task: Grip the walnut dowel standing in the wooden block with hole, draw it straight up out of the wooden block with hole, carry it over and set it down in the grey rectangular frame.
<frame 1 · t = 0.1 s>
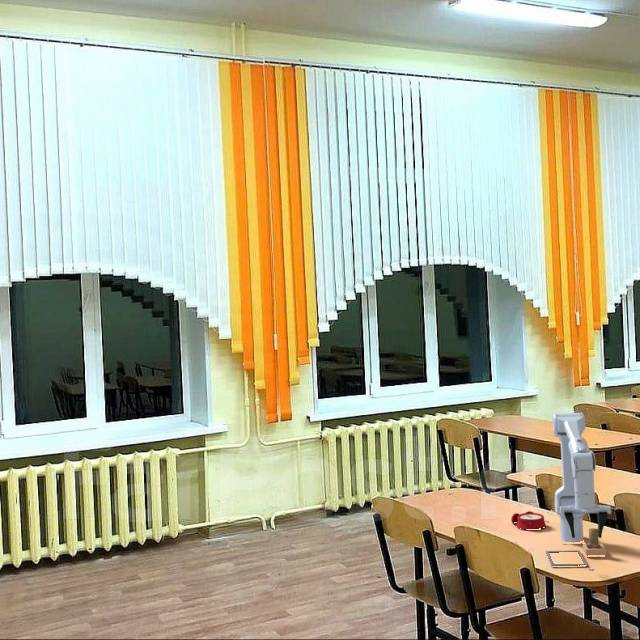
hand: (586, 536, 256), 10 cm above the table, tool pointing down, fingers open, 7 cm apart
grey rectangular frame: (566, 561, 265), on the table
wooden block with hole: (594, 555, 269), on the table
alarm clock: (528, 526, 305), on the table
dowel: (594, 554, 269), resting on wooden block with hole
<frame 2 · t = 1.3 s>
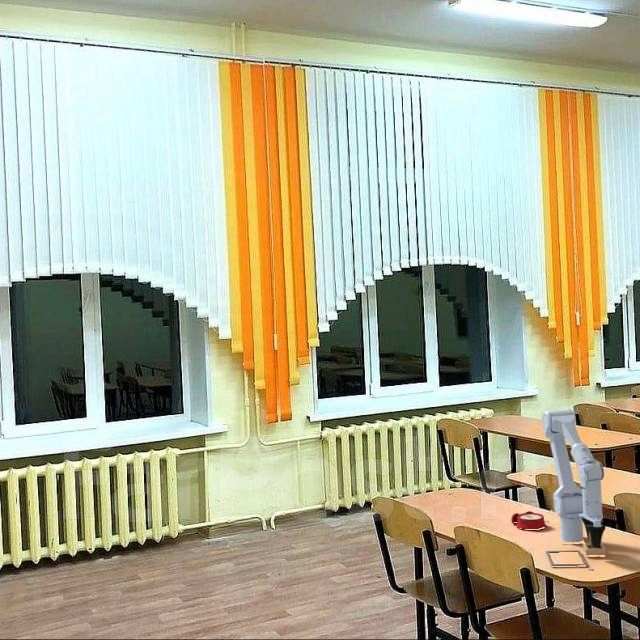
hand: (594, 543, 269), 4 cm above the table, tool pointing down, fingers open, 7 cm apart
nothing on the table moved.
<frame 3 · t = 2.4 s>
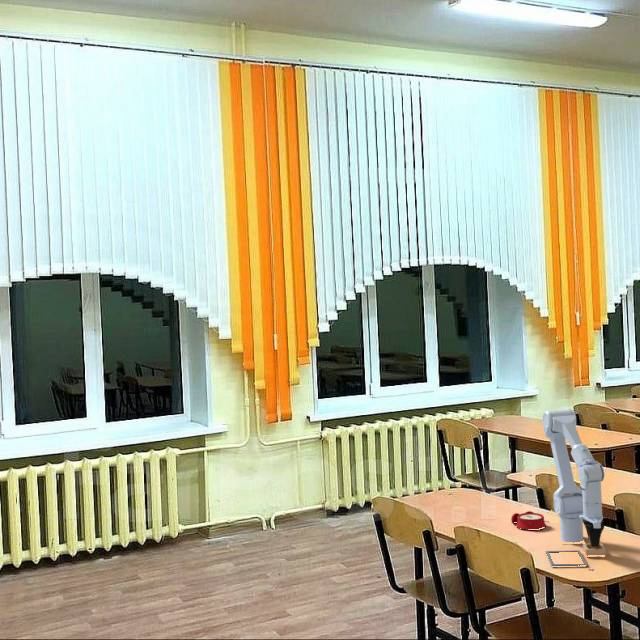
hand: (594, 544, 269), 4 cm above the table, tool pointing down, fingers closed on dowel, 3 cm apart
dowel: (594, 554, 269), resting on wooden block with hole, touching gripper
everything else where it was.
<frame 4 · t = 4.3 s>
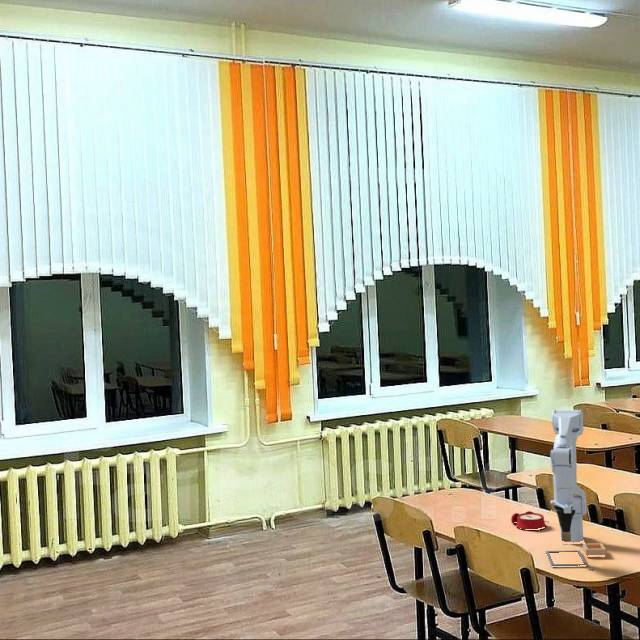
hand: (565, 530, 264), 10 cm above the table, tool pointing down, fingers closed on dowel, 3 cm apart
dowel: (566, 540, 264), point 7 cm above the table, touching gripper
everything else where it was.
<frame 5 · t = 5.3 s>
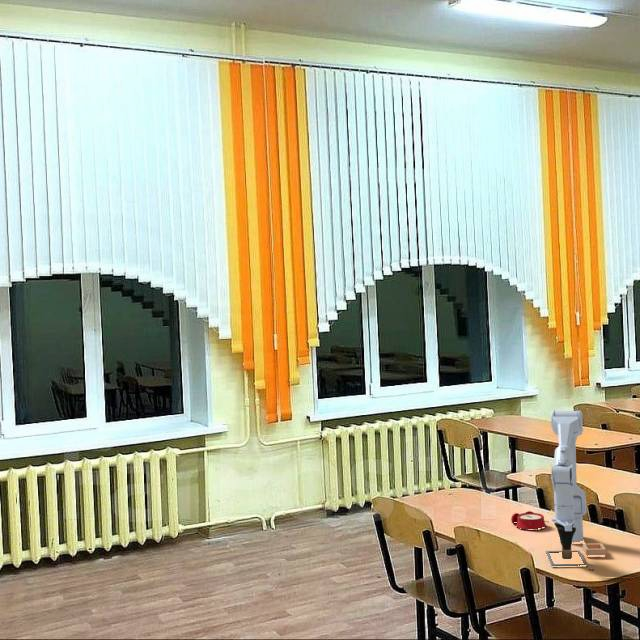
hand: (565, 547, 264), 5 cm above the table, tool pointing down, fingers closed on dowel, 3 cm apart
dowel: (567, 557, 264), point 1 cm above the table, touching gripper
everything else where it was.
when the fingers open (5 cm above the table, at t = 6.0 s): dowel stays where it is, resting on grey rectangular frame.
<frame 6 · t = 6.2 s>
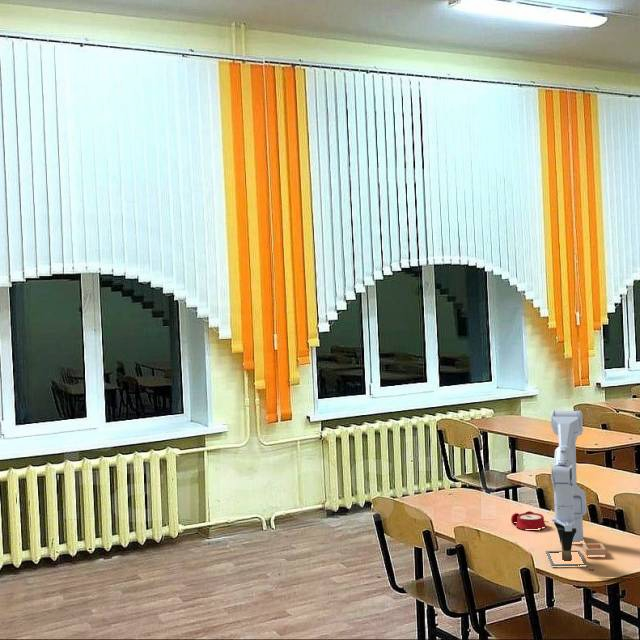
hand: (565, 547, 264), 5 cm above the table, tool pointing down, fingers open, 5 cm apart
dowel: (567, 560, 264), resting on grey rectangular frame
everything else where it was.
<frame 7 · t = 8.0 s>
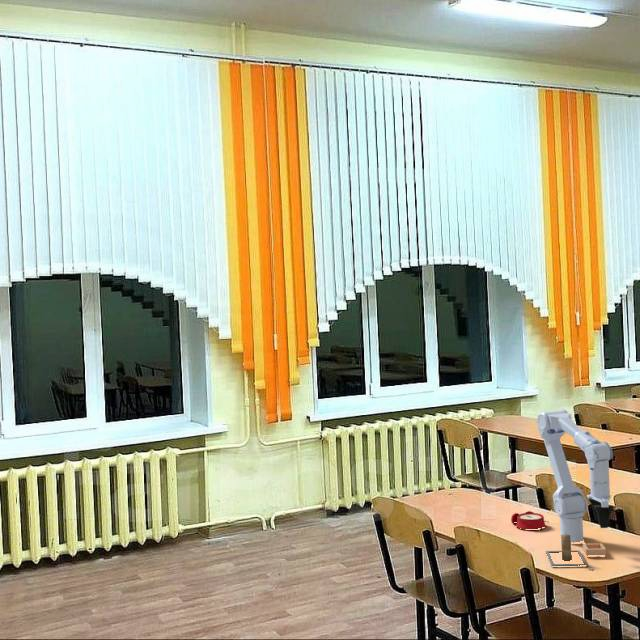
hand: (601, 524, 268), 10 cm above the table, tool pointing down, fingers open, 7 cm apart
nothing on the table moved.
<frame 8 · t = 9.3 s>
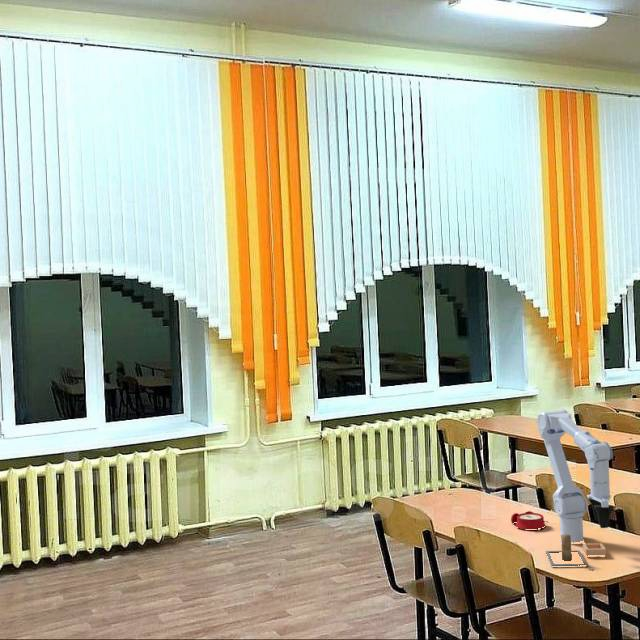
hand: (601, 524, 268), 10 cm above the table, tool pointing down, fingers open, 7 cm apart
nothing on the table moved.
at the end: dowel inside the target area on the grey rectangular frame (1.0 cm from its centre), point 0.5 cm above the grey rectangular frame's base; the gripper is holding nothing; dowel touching grey rectangular frame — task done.
